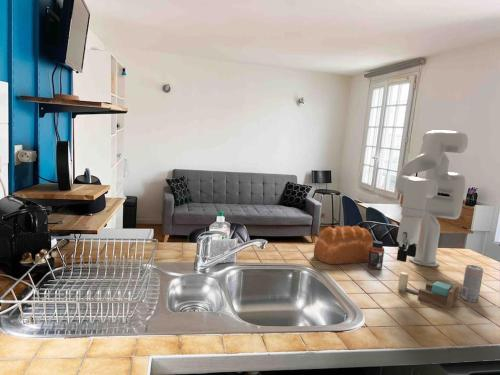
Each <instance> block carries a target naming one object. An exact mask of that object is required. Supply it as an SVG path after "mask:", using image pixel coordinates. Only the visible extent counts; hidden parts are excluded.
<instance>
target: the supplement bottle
mask: <svg viewBox="0 0 500 375" xmlns="http://www.w3.org/2000/svg"><path fill="white" fill-rule="evenodd" d="M383 245H384V243H383V242H382V241H380V240H373V245H372V246H370V250H369V258H368V262H367V267H368V268H370V269H373V270H381V269H382V268H383V263H384V257H385V256H384V255H385V248H384V246H383Z"/></svg>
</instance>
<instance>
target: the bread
mask: <svg viewBox="0 0 500 375" xmlns="http://www.w3.org/2000/svg"><path fill="white" fill-rule="evenodd" d="M373 241H374V239H373V235H372V234H371V233H370V231H369V230H368V229H366V228H365V227H360V226H359V225H352V226H350V225H343V226H341V225H337V226H335V227H334V228H333V227H331V226H327V227H325V228H324V229H322V230H321V231H320V232H319V233H318V236H317V240H316V241H315V245H314V249H313V257H314V258H316V259H317V260H318V261H320V262H322V263H325V264H328V265H343V264H346V265H347V264H354V263H356V264H357V263H368V258H369V250H370V246H372V245H373Z"/></svg>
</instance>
